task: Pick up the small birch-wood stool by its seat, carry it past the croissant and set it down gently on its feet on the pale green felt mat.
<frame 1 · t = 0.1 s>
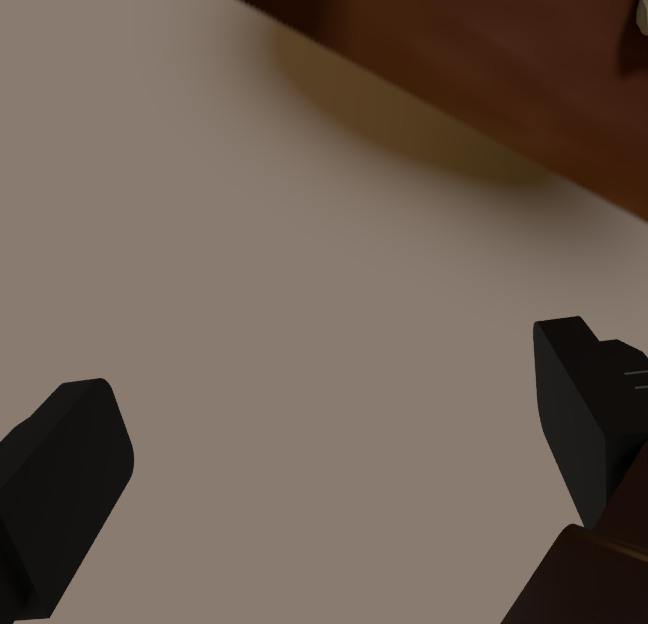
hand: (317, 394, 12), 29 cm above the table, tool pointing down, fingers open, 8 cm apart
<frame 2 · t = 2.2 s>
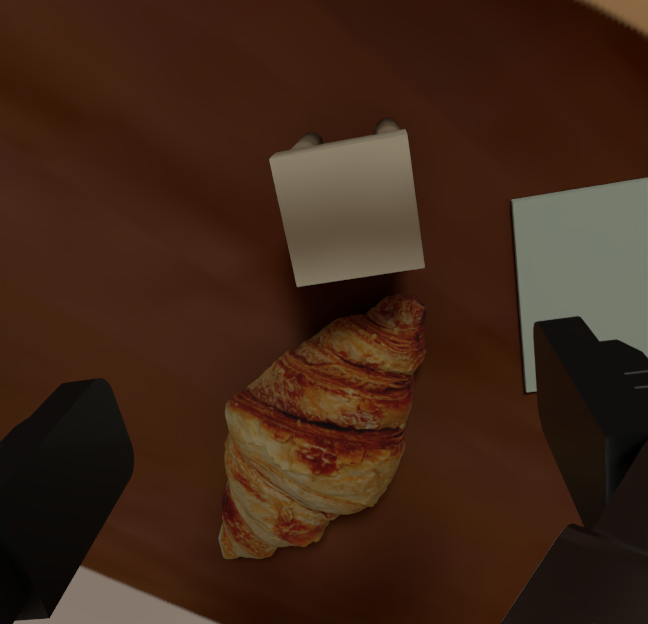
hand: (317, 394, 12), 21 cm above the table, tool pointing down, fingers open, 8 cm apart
stool: (355, 176, 31), on the table
croissant: (311, 417, 37), on the table
mat: (626, 285, 32), on the table
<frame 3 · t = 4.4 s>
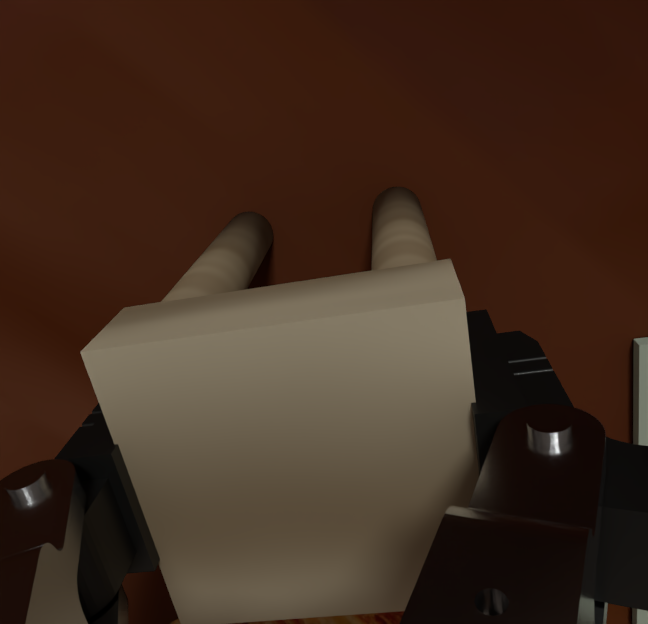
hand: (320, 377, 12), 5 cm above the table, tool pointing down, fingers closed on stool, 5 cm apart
stool: (335, 291, 16), on the table, touching gripper
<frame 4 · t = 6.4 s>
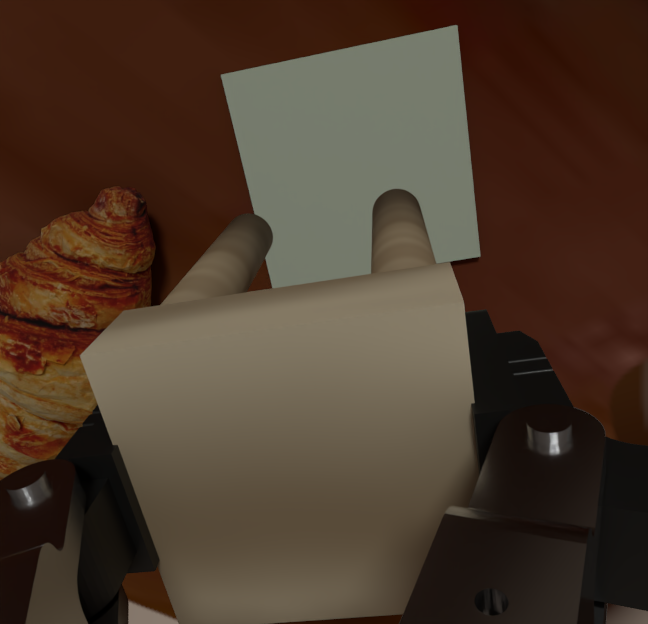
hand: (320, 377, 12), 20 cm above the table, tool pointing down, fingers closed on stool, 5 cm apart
stool: (335, 293, 16), point 16 cm above the table, touching gripper
croissant: (68, 330, 36), on the table
mat: (356, 168, 31), on the table
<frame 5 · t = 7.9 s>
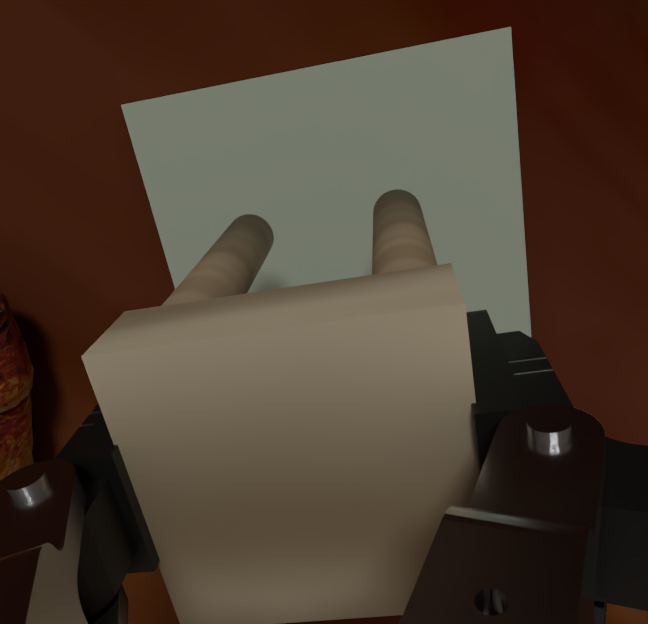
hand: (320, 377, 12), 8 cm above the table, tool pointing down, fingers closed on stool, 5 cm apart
stool: (335, 294, 16), point 3 cm above the table, touching gripper
mat: (342, 252, 19), on the table
when the fingers open (6 cm above the table, at t = 8.7 s): stool stays where it is, resting on mat.
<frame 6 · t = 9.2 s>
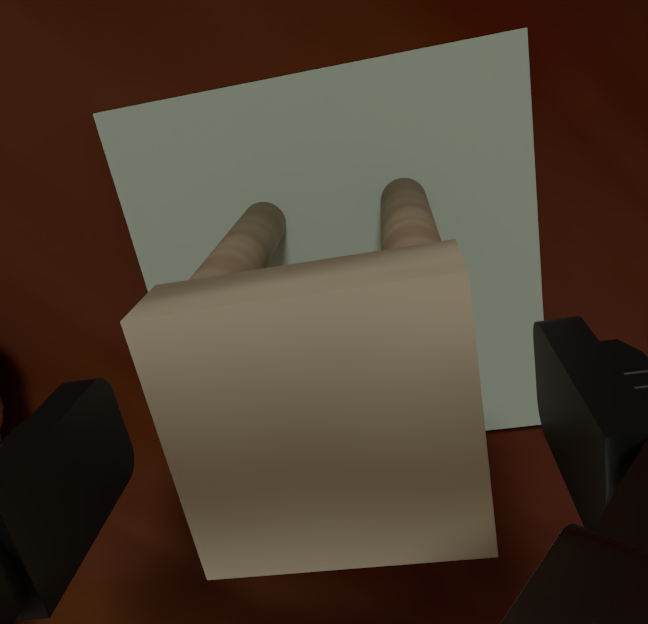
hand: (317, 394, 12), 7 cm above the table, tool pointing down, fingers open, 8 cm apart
stool: (344, 278, 17), resting on mat
mat: (338, 275, 18), on the table
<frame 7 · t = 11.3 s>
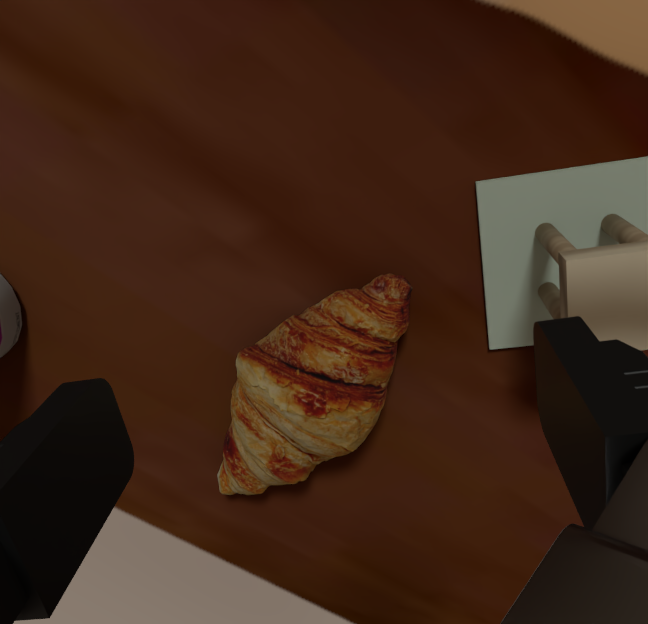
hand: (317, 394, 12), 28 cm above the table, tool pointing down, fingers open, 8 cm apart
stool: (578, 258, 38), resting on mat
croissant: (307, 377, 44), on the table
mat: (573, 257, 38), on the table
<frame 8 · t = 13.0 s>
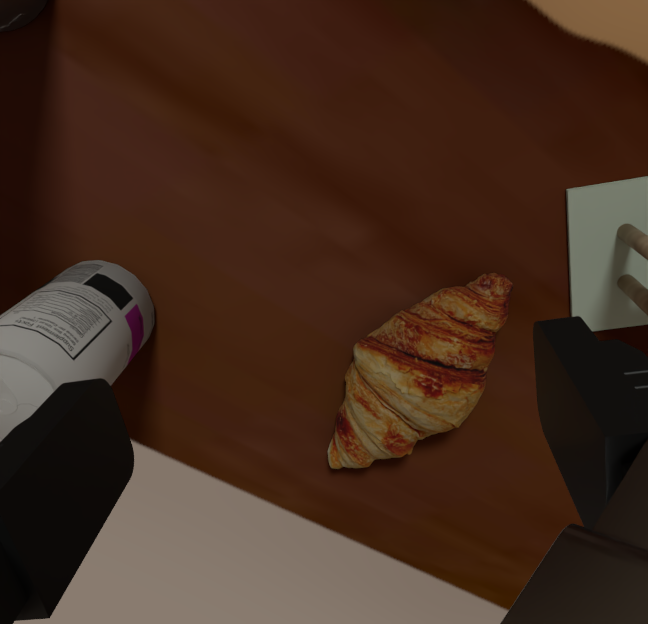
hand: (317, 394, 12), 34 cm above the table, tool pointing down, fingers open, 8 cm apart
croissant: (407, 363, 50), on the table
supplement can: (108, 305, 50), on the table
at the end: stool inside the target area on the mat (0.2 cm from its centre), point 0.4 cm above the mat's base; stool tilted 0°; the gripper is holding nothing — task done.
